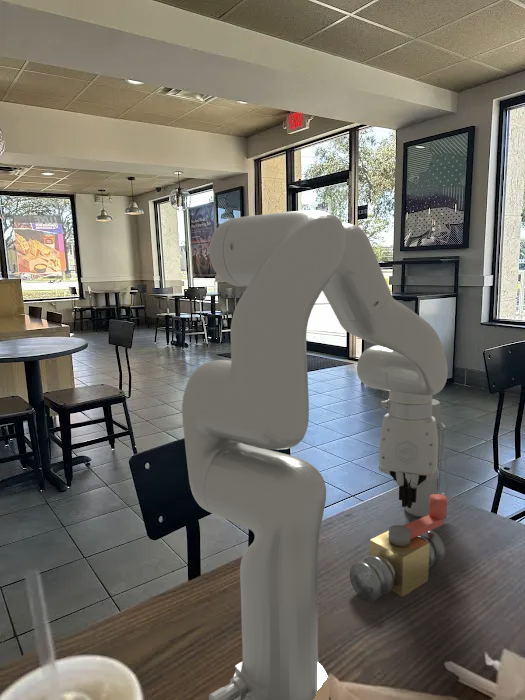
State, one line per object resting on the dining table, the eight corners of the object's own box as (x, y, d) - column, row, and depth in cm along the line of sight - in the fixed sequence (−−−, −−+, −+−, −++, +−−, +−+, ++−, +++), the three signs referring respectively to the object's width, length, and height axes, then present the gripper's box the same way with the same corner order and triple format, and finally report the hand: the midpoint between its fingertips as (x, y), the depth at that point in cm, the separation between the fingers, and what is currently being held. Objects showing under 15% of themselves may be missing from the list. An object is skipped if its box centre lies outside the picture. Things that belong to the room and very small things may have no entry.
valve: (379, 610, 80) (380, 569, 79) (347, 589, 85) (347, 550, 84) (446, 569, 90) (448, 532, 89) (414, 552, 96) (415, 517, 95)
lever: (400, 548, 84) (401, 520, 84) (384, 538, 87) (384, 511, 87) (451, 525, 92) (452, 499, 91) (434, 517, 94) (435, 491, 94)
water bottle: (399, 515, 110) (402, 403, 106) (407, 500, 117) (409, 395, 113) (443, 524, 106) (448, 408, 102) (449, 508, 113) (453, 399, 109)
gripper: (364, 410, 92) (363, 506, 94) (452, 419, 86) (448, 521, 88) (373, 400, 98) (371, 490, 101) (455, 408, 92) (451, 502, 95)
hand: (407, 504), depth 95 cm, fingers closed
